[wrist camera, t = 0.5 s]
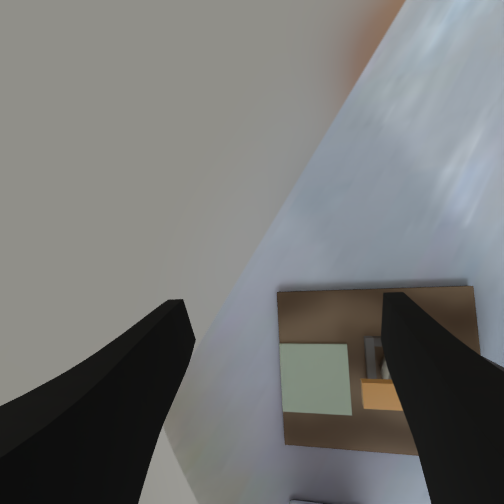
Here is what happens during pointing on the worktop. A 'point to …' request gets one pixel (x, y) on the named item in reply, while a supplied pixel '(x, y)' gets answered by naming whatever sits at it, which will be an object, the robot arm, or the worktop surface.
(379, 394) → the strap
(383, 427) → the board
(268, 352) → the worktop surface
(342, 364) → the sage mat
